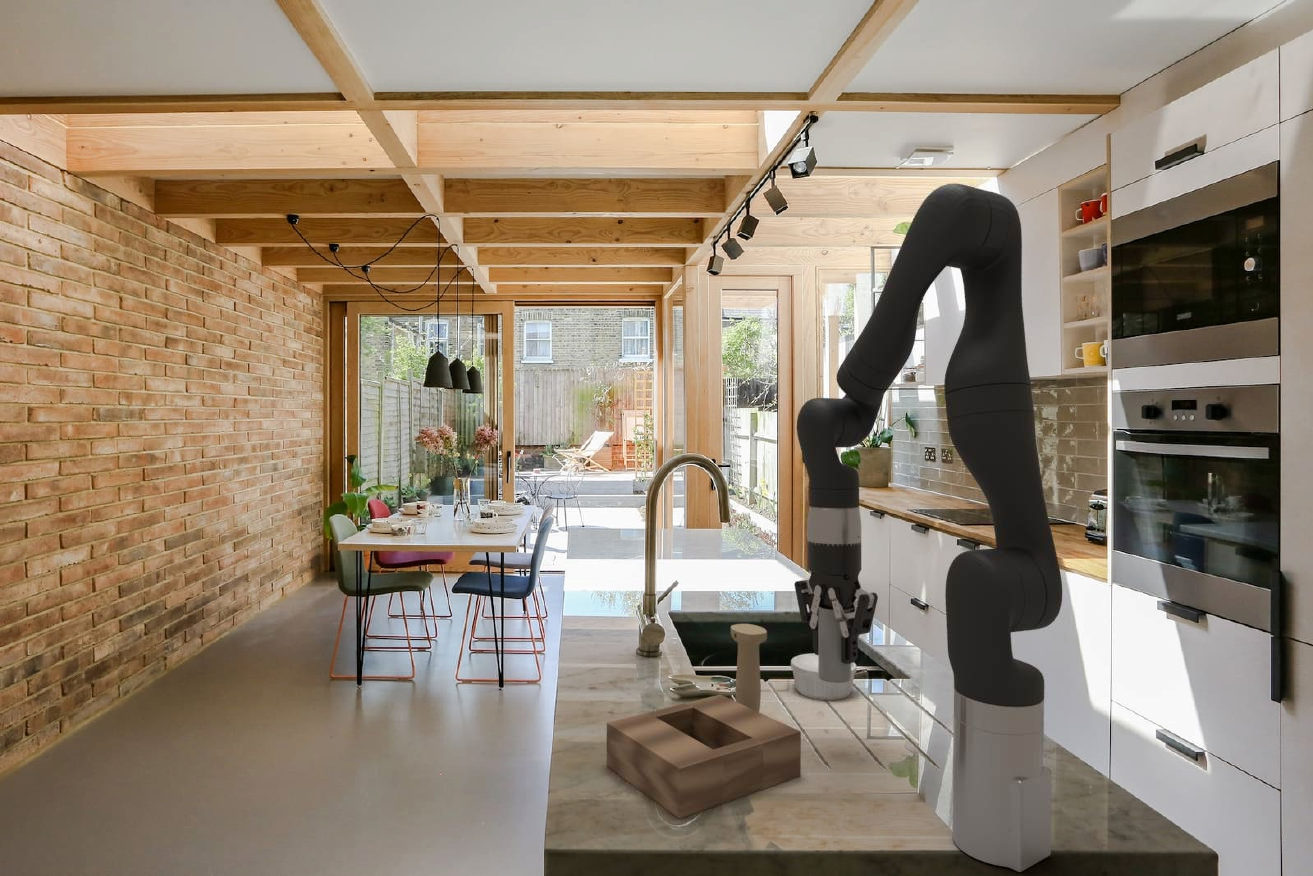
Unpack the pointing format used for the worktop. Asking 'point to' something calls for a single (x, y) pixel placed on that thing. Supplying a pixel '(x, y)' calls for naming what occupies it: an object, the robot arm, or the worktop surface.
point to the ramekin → (818, 679)
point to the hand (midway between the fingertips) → (834, 658)
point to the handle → (748, 663)
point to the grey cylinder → (831, 648)
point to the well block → (702, 753)
